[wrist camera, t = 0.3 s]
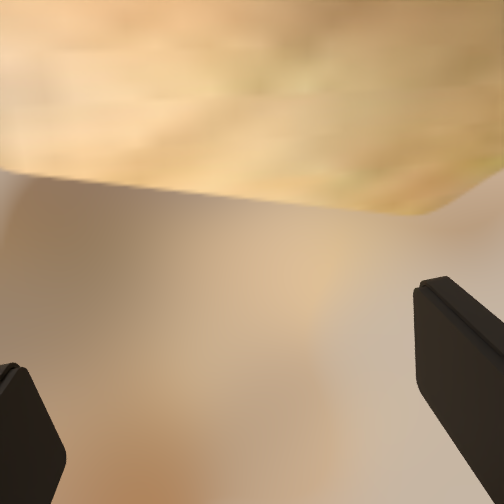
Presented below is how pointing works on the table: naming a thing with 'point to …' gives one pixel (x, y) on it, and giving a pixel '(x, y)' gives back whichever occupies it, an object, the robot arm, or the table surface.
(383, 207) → the table surface
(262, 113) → the table surface
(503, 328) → the robot arm
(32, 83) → the table surface
